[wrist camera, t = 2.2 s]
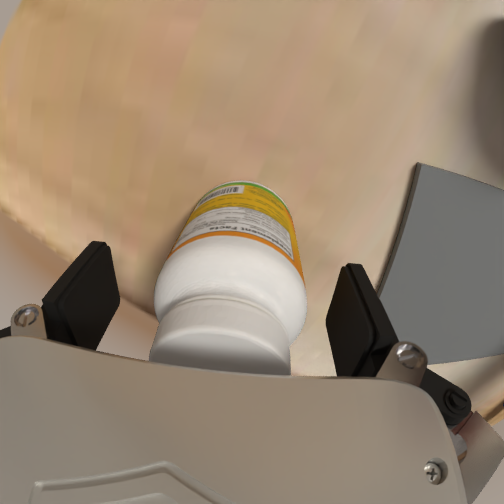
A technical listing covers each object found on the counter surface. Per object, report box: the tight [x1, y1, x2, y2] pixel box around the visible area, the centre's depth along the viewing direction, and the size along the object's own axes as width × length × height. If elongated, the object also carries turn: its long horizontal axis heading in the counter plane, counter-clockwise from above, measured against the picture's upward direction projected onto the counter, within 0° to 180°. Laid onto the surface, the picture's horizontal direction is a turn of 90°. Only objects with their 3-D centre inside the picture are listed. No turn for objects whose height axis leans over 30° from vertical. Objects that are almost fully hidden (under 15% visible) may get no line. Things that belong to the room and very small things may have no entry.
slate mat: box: [377, 163, 504, 365], centre depth 17 cm, size 20×16×1 cm
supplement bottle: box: [149, 181, 307, 376], centre depth 12 cm, size 5×5×10 cm
